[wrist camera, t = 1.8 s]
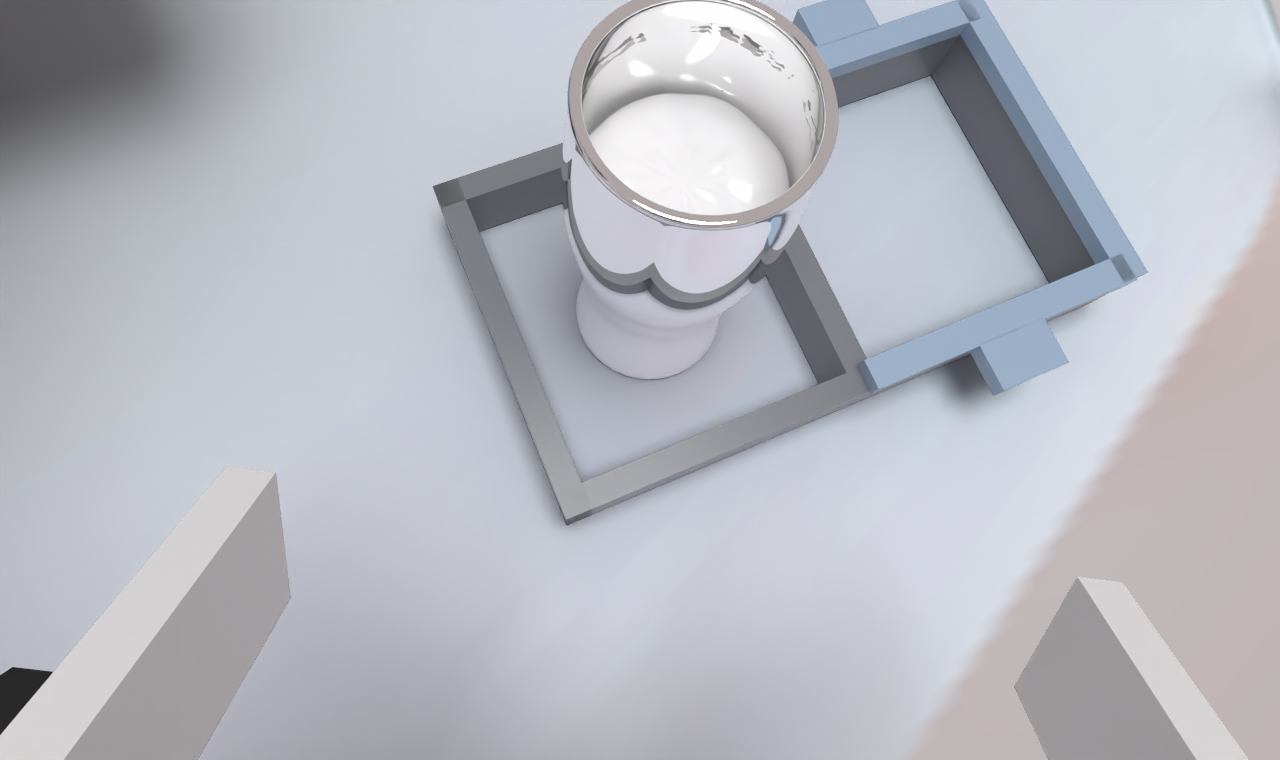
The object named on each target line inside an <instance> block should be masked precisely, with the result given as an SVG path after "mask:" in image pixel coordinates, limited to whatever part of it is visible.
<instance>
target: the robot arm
mask: <svg viewBox="0 0 1280 760" xmlns="http://www.w3.org/2000/svg"><path fill="white" fill-rule="evenodd" d="M290 598H291V596H290V588H289V579H288V571H287V562H286V554H285V545H284V537H283V529H282V520H281V512H280V503H279V495H278V486H277V478H276V472H268V471H261V470H253V469H245V468H238V467H230V466H226V468H225V469H224V470H223V471H222V472H221V474H220V475H219V476H218V477H217V478H216V479H215V481H214V482H213V483H212V484H211V485H210V487H209V488H208V489H207V490H206V491H205V493H204V494H203V495H202V496H201V497H200V498H199V500H198V501H197V502H196V503H195V504H194V506H193V507H192V508H191V509H190V510H189V512H188V513H187V514H186V515H185V516H184V517H183V519H182V520H181V521H180V522H179V523H178V525H177V526H176V527H175V528H174V529H173V531H172V532H171V533H170V534H169V535H168V536H167V538H166V539H165V540H164V541H163V542H162V544H161V545H160V546H159V547H158V548H157V550H156V551H155V552H154V553H153V554H152V555H151V557H150V558H149V559H148V560H147V561H146V563H145V564H144V565H143V566H142V567H141V569H140V570H139V571H138V572H137V573H136V575H135V576H134V577H133V578H132V579H131V580H130V582H129V583H128V584H127V585H126V586H125V588H124V589H123V590H122V591H121V592H120V594H119V595H118V596H117V597H116V598H115V599H114V601H113V602H112V603H111V604H110V605H109V607H108V608H107V609H106V610H105V611H104V613H103V614H102V615H101V616H100V617H99V618H98V620H97V621H96V622H95V623H94V624H93V626H92V627H91V628H90V629H89V630H88V632H87V633H86V634H85V635H84V636H83V637H82V639H81V640H80V641H79V642H78V643H77V645H76V646H75V647H74V648H73V649H72V651H71V652H70V653H69V654H68V655H67V656H66V658H65V659H64V660H63V661H62V662H61V664H60V665H59V666H58V667H57V668H56V670H55V671H54V672H50V671H41V670H33V669H24V668H15V667H12V668H11V669H9V670H8V671H6V672H5V673H3V674H2V675H0V760H198V758H199V757H200V755H201V753H202V751H203V750H204V748H205V746H206V744H207V743H208V741H209V739H210V737H211V736H212V734H213V732H214V730H215V729H216V727H217V725H218V723H219V722H220V720H221V718H222V716H223V715H224V713H225V711H226V710H227V708H228V706H229V704H230V703H231V701H232V699H233V697H234V696H235V694H236V692H237V690H238V689H239V687H240V685H241V683H242V682H243V680H244V678H245V676H246V675H247V673H248V671H249V669H250V668H251V666H252V664H253V663H254V661H255V659H256V657H257V656H258V654H259V652H260V650H261V649H262V647H263V645H264V643H265V642H266V640H267V638H268V636H269V635H270V633H271V631H272V629H273V628H274V626H275V624H276V622H277V621H278V619H279V617H280V616H281V614H282V612H283V610H284V609H285V607H286V605H287V603H288V602H289V600H290ZM1014 688H1015V690H1016V692H1017V694H1018V696H1019V698H1020V700H1021V703H1022V705H1023V707H1024V709H1025V711H1026V713H1027V716H1028V718H1029V720H1030V722H1031V724H1032V726H1033V728H1034V731H1035V733H1036V735H1037V737H1038V739H1039V741H1040V743H1041V746H1042V748H1043V750H1044V752H1045V754H1046V756H1047V758H1048V760H1248V758H1247V757H1246V756H1245V754H1244V753H1243V751H1242V750H1241V749H1240V747H1239V746H1238V744H1237V743H1236V741H1235V740H1234V739H1233V737H1232V736H1231V735H1230V733H1229V732H1228V730H1227V729H1226V727H1225V726H1224V725H1223V723H1222V722H1221V720H1220V719H1219V718H1218V716H1217V715H1216V713H1215V712H1214V711H1213V710H1212V708H1211V706H1210V705H1209V704H1208V702H1207V701H1206V700H1205V698H1204V697H1203V695H1202V694H1201V692H1200V691H1199V690H1198V688H1197V687H1196V686H1195V684H1194V683H1193V681H1192V680H1191V679H1190V677H1189V676H1188V674H1187V673H1186V671H1185V670H1184V669H1183V667H1182V666H1181V664H1180V663H1179V662H1178V660H1177V659H1176V657H1175V656H1174V655H1173V653H1172V652H1171V650H1170V649H1169V648H1168V646H1167V645H1166V643H1165V642H1164V641H1163V639H1162V638H1161V636H1160V635H1159V634H1158V632H1157V631H1156V629H1155V628H1154V627H1153V625H1152V624H1151V622H1150V621H1149V620H1148V618H1147V617H1146V615H1145V614H1144V612H1143V611H1142V610H1141V608H1140V607H1139V605H1138V604H1137V603H1136V601H1135V600H1134V599H1133V597H1132V596H1131V594H1130V593H1129V592H1128V590H1127V589H1126V587H1125V586H1124V585H1123V583H1122V582H1115V581H1108V580H1100V579H1092V578H1084V577H1077V578H1076V580H1075V582H1074V584H1073V585H1072V587H1071V589H1070V590H1069V592H1068V594H1067V596H1066V597H1065V599H1064V601H1063V603H1062V605H1061V606H1060V608H1059V610H1058V611H1057V613H1056V615H1055V617H1054V618H1053V620H1052V622H1051V623H1050V625H1049V627H1048V629H1047V630H1046V632H1045V634H1044V636H1043V637H1042V639H1041V641H1040V643H1039V645H1038V646H1037V648H1036V649H1035V651H1034V653H1033V655H1032V656H1031V658H1030V660H1029V662H1028V664H1027V665H1026V667H1025V669H1024V670H1023V672H1022V674H1021V676H1020V677H1019V679H1018V681H1017V683H1016V684H1015V686H1014Z"/></svg>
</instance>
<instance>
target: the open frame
mask: <svg viewBox="0 0 1280 760" xmlns="http://www.w3.org/2000/svg"><path fill="white" fill-rule="evenodd" d="M793 24H794V25H795V26H796V27H797V28H799V29H800V30H801V31H802V32H803V33H804V34H805V36H806V37H807V38H808V39H809V40H810V42H811V43H812V44H813V45H814V47H815V48H816V49H817V51H818V52H819V54H820V56H821V57H822V59H823V61H824V63H825V64H826V67H827V69H828V71H829V73H830V75H831V78H832V81H833V84H834V88H835V92H836V96H837V103H838V107H841V106H843V105H846V104H849V103H852V102H855V101H858V100H861V99H864V98H866V97H869V96H872V95H875V94H878V93H881V92H884V91H887V90H890V89H892V88H895V87H898V86H901V85H904V84H907V83H910V82H913V81H916V80H918V79H921V78H924V77H927V76H930V75H931V76H932V78H933V79H934V81H935V83H936V85H937V86H938V88H939V90H940V92H941V93H942V95H943V97H944V99H945V100H946V102H947V104H948V106H949V107H950V109H951V111H952V113H953V114H954V116H955V118H956V120H957V121H958V123H959V125H960V127H961V128H962V130H963V132H964V134H965V135H966V137H967V139H968V141H969V142H970V144H971V146H972V148H973V149H974V151H975V153H976V155H977V156H978V158H979V160H980V162H981V163H982V165H983V167H984V169H985V170H986V172H987V174H988V176H989V177H990V179H991V181H992V183H993V184H994V186H995V188H996V190H997V191H998V193H999V195H1000V197H1001V198H1002V200H1003V202H1004V204H1005V205H1006V207H1007V209H1008V211H1009V212H1010V214H1011V216H1012V218H1013V219H1014V221H1015V223H1016V225H1017V226H1018V228H1019V230H1020V232H1021V233H1022V235H1023V237H1024V239H1025V240H1026V242H1027V244H1028V246H1029V247H1030V249H1031V251H1032V253H1033V254H1034V256H1035V258H1036V260H1037V261H1038V263H1039V265H1040V267H1041V268H1042V270H1043V272H1044V274H1045V275H1046V277H1047V279H1048V281H1049V282H1050V283H1049V284H1047V285H1045V286H1042V287H1040V288H1037V289H1035V290H1033V291H1030V292H1028V293H1025V294H1023V295H1020V296H1018V297H1016V298H1013V299H1011V300H1008V301H1006V302H1004V303H1001V304H999V305H996V306H994V307H991V308H989V309H987V310H984V311H982V312H979V313H977V314H975V315H972V316H970V317H967V318H965V319H962V320H960V321H958V322H955V323H953V324H950V325H948V326H946V327H943V328H941V329H938V330H936V331H934V332H931V333H929V334H926V335H924V336H921V337H919V338H917V339H914V340H912V341H909V342H907V343H905V344H902V345H900V346H897V347H895V348H892V349H890V350H888V351H885V352H883V353H880V354H878V355H876V356H873V357H871V358H868V359H867V358H866V356H865V354H864V352H863V350H862V348H861V346H860V344H859V342H858V340H857V338H856V336H855V335H854V333H853V331H852V329H851V327H850V325H849V323H848V321H847V319H846V317H845V315H844V313H843V311H842V309H841V307H840V305H839V303H838V301H837V299H836V297H835V295H834V293H833V291H832V289H831V287H830V285H829V283H828V281H827V279H826V277H825V275H824V273H823V271H822V269H821V267H820V265H819V263H818V261H817V259H816V257H815V255H814V253H813V251H812V249H811V248H810V246H809V244H808V242H807V240H806V238H805V236H804V234H803V232H802V230H801V228H800V226H799V224H798V226H797V228H796V230H795V231H794V233H793V235H792V237H791V239H790V240H789V242H788V244H787V246H786V247H785V249H784V250H783V252H782V253H781V255H780V256H779V257H778V259H777V260H776V262H775V263H774V264H773V266H772V267H771V268H770V270H769V271H768V273H767V274H766V276H767V279H768V281H769V283H770V285H771V287H772V289H773V291H774V293H775V295H776V297H777V299H778V301H779V303H780V305H781V307H782V309H783V311H784V313H785V315H786V317H787V319H788V322H789V324H790V326H791V328H792V330H793V332H794V334H795V336H796V338H797V340H798V342H799V344H800V346H801V348H802V350H803V352H804V354H805V356H806V358H807V360H808V362H809V365H810V367H811V369H812V371H813V373H814V375H815V377H816V379H817V381H818V383H819V385H816V386H814V387H811V388H809V389H806V390H804V391H802V392H799V393H797V394H794V395H792V396H790V397H787V398H785V399H782V400H780V401H778V402H775V403H773V404H770V405H768V406H766V407H763V408H761V409H758V410H756V411H754V412H751V413H749V414H746V415H744V416H742V417H739V418H737V419H734V420H732V421H729V422H727V423H725V424H722V425H720V426H717V427H715V428H713V429H710V430H708V431H705V432H703V433H701V434H698V435H696V436H693V437H691V438H689V439H686V440H684V441H681V442H679V443H677V444H674V445H672V446H669V447H667V448H664V449H662V450H660V451H657V452H655V453H652V454H650V455H648V456H645V457H643V458H640V459H638V460H636V461H633V462H631V463H628V464H626V465H624V466H621V467H619V468H616V469H614V470H612V471H609V472H607V473H604V474H602V475H599V476H597V477H595V478H592V479H590V480H587V481H585V482H583V483H581V480H580V478H579V475H578V473H577V471H576V468H575V466H574V463H573V461H572V458H571V456H570V453H569V451H568V449H567V446H566V444H565V441H564V439H563V436H562V434H561V431H560V429H559V426H558V424H557V422H556V419H555V417H554V414H553V412H552V409H551V407H550V404H549V402H548V400H547V397H546V395H545V392H544V390H543V387H542V385H541V382H540V380H539V378H538V375H537V373H536V370H535V368H534V365H533V363H532V360H531V358H530V356H529V353H528V351H527V348H526V346H525V343H524V341H523V338H522V336H521V333H520V331H519V329H518V326H517V324H516V321H515V319H514V316H513V314H512V311H511V309H510V307H509V304H508V302H507V299H506V297H505V294H504V292H503V289H502V287H501V285H500V282H499V280H498V277H497V275H496V272H495V270H494V267H493V265H492V263H491V260H490V258H489V255H488V253H487V250H486V248H485V245H484V243H483V240H482V238H481V236H480V233H479V232H480V231H483V230H486V229H488V228H491V227H494V226H497V225H500V224H503V223H506V222H509V221H512V220H514V219H517V218H520V217H523V216H526V215H529V214H532V213H535V212H537V211H540V210H543V209H546V208H549V207H552V206H555V205H558V204H561V203H562V193H561V167H562V148H563V143H561V144H558V145H555V146H552V147H549V148H546V149H543V150H540V151H537V152H534V153H531V154H528V155H525V156H522V157H519V158H516V159H513V160H510V161H507V162H504V163H501V164H498V165H495V166H492V167H489V168H486V169H483V170H480V171H477V172H474V173H471V174H468V175H465V176H462V177H459V178H456V179H453V180H450V181H447V182H444V183H441V184H438V185H435V186H433V189H434V191H435V194H436V197H437V200H438V202H439V205H440V208H441V211H442V213H443V216H444V219H445V222H446V224H447V227H448V229H449V232H450V234H451V237H452V239H453V242H454V244H455V247H456V249H457V252H458V254H459V257H460V259H461V262H462V264H463V267H464V269H465V272H466V274H467V277H468V279H469V282H470V284H471V287H472V289H473V292H474V294H475V297H476V299H477V302H478V304H479V307H480V309H481V312H482V314H483V317H484V319H485V322H486V324H487V327H488V329H489V332H490V334H491V337H492V339H493V342H494V344H495V347H496V349H497V352H498V354H499V357H500V359H501V362H502V364H503V367H504V369H505V372H506V374H507V377H508V379H509V382H510V384H511V387H512V389H513V392H514V394H515V397H516V399H517V402H518V404H519V407H520V409H521V412H522V414H523V417H524V419H525V422H526V424H527V427H528V429H529V432H530V434H531V437H532V439H533V442H534V444H535V447H536V449H537V452H538V454H539V457H540V459H541V462H542V464H543V467H544V469H545V472H546V474H547V477H548V479H549V482H550V484H551V487H552V489H553V492H554V494H555V497H556V499H557V502H558V504H559V507H560V509H561V512H562V514H563V517H564V519H565V522H566V524H567V525H569V524H571V523H574V522H576V521H578V520H581V519H583V518H585V517H588V516H590V515H592V514H595V513H597V512H599V511H602V510H604V509H607V508H609V507H611V506H614V505H616V504H618V503H621V502H623V501H625V500H628V499H630V498H632V497H635V496H637V495H640V494H642V493H644V492H647V491H649V490H651V489H654V488H656V487H658V486H661V485H663V484H665V483H668V482H670V481H673V480H675V479H677V478H680V477H682V476H684V475H687V474H689V473H691V472H694V471H696V470H698V469H701V468H703V467H706V466H708V465H710V464H713V463H715V462H717V461H720V460H722V459H724V458H727V457H729V456H731V455H734V454H736V453H739V452H741V451H743V450H746V449H748V448H750V447H753V446H755V445H757V444H760V443H762V442H765V441H767V440H769V439H772V438H774V437H776V436H779V435H781V434H783V433H786V432H788V431H790V430H793V429H795V428H798V427H800V426H802V425H805V424H807V423H809V422H812V421H814V420H816V419H819V418H821V417H823V416H826V415H828V414H831V413H833V412H835V411H838V410H840V409H842V408H845V407H847V406H849V405H852V404H854V403H856V402H859V401H861V400H864V399H866V398H868V397H871V396H873V395H875V394H878V393H880V392H882V391H885V390H887V389H889V388H892V387H894V386H897V385H899V384H901V383H904V382H906V381H908V380H911V379H913V378H915V377H918V376H920V375H922V374H925V373H927V372H930V371H932V370H934V369H937V368H939V367H941V366H944V365H946V364H948V363H951V362H953V361H955V360H958V359H960V358H963V357H965V356H967V355H970V354H971V355H972V357H973V359H974V361H975V363H976V365H977V367H978V368H979V370H980V372H981V374H982V376H983V378H984V380H985V382H986V383H987V385H988V387H989V389H990V391H991V393H992V395H995V394H998V393H1000V392H1002V391H1004V390H1007V389H1009V388H1011V387H1014V386H1016V385H1018V384H1020V383H1023V382H1025V381H1027V380H1030V379H1032V378H1034V377H1036V376H1039V375H1041V374H1043V373H1046V372H1048V371H1050V370H1052V369H1055V368H1057V367H1059V366H1062V365H1064V364H1066V363H1068V362H1069V361H1068V359H1067V358H1066V356H1065V354H1064V352H1063V351H1062V349H1061V347H1060V345H1059V343H1058V342H1057V340H1056V338H1055V336H1054V335H1053V333H1052V331H1051V329H1050V327H1049V326H1048V324H1047V321H1050V320H1052V319H1055V318H1057V317H1059V316H1062V315H1064V314H1066V313H1069V312H1071V311H1073V310H1076V309H1078V308H1080V307H1083V306H1085V305H1087V304H1089V303H1091V302H1093V301H1095V300H1096V299H1098V298H1100V297H1102V296H1104V295H1106V294H1108V293H1110V292H1112V291H1115V290H1117V289H1119V288H1122V287H1124V286H1126V285H1128V284H1130V283H1132V282H1133V281H1135V280H1137V278H1138V277H1140V276H1142V275H1144V274H1146V273H1147V272H1148V271H1147V270H1146V268H1145V266H1144V265H1143V263H1142V261H1141V260H1140V258H1139V256H1138V255H1137V253H1136V251H1135V250H1134V248H1133V246H1132V245H1131V243H1130V241H1129V240H1128V238H1127V236H1126V235H1125V233H1124V231H1123V230H1122V228H1121V226H1120V225H1119V223H1118V222H1117V220H1116V218H1115V217H1114V215H1113V213H1112V212H1111V210H1110V208H1109V207H1108V205H1107V203H1106V202H1105V200H1104V198H1103V197H1102V195H1101V193H1100V192H1099V190H1098V188H1097V187H1096V185H1095V183H1094V182H1093V180H1092V178H1091V177H1090V175H1089V173H1088V172H1087V170H1086V168H1085V167H1084V165H1083V163H1082V162H1081V160H1080V158H1079V157H1078V155H1077V153H1076V152H1075V150H1074V148H1073V147H1072V145H1071V143H1070V142H1069V140H1068V138H1067V137H1066V135H1065V134H1064V132H1063V130H1062V129H1061V127H1060V125H1059V124H1058V122H1057V120H1056V119H1055V117H1054V115H1053V114H1052V112H1051V110H1050V109H1049V107H1048V105H1047V104H1046V102H1045V100H1044V99H1043V97H1042V95H1041V94H1040V92H1039V90H1038V89H1037V87H1036V85H1035V84H1034V82H1033V80H1032V79H1031V77H1030V75H1029V74H1028V72H1027V70H1026V69H1025V67H1024V65H1023V64H1022V62H1021V60H1020V59H1019V57H1018V55H1017V54H1016V52H1015V50H1014V49H1013V47H1012V46H1011V44H1010V42H1009V41H1008V39H1007V37H1006V36H1005V34H1004V32H1003V31H1002V29H1001V27H1000V26H999V24H998V22H997V21H996V19H995V17H994V16H993V14H992V12H991V11H990V9H989V7H988V6H987V4H986V2H985V1H984V0H955V1H952V2H949V3H946V4H943V5H940V6H937V7H933V8H930V9H927V10H924V11H921V12H918V13H915V14H912V15H909V16H906V17H903V18H900V19H897V20H894V21H891V22H888V23H885V24H882V25H879V24H878V22H877V21H876V19H875V17H874V15H873V14H872V12H871V10H870V8H869V6H868V5H867V3H866V1H865V0H826V1H823V2H820V3H816V4H813V5H810V6H807V7H804V8H801V9H798V11H797V13H796V16H795V18H794V21H793Z"/></svg>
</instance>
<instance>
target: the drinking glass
mask: <svg viewBox="0 0 1280 760" xmlns="http://www.w3.org/2000/svg"><path fill="white" fill-rule="evenodd" d="M837 130H838V103H837V96H836V92H835V88H834V84H833V81H832V78H831V75H830V73H829V71H828V69H827V67H826V64H825V63H824V61H823V59H822V57H821V56H820V54H819V52H818V51H817V49H816V48H815V47H814V45H813V44H812V43H811V42H810V40H809V39H808V38H807V37H806V36H805V34H804V33H803V32H802V31H801V30H800V29H799V28H797V27H796V26H795V25H794V24H793V23H792V22H791V21H789V20H788V19H787V18H786V17H784V16H783V15H781V14H780V13H778V12H777V11H775V10H774V9H772V8H770V7H769V6H767V5H765V4H763V3H761V2H759V1H757V0H631V1H629V2H627V3H626V4H624V5H622V6H620V7H619V8H617V9H616V10H614V11H613V12H612V13H610V14H609V15H608V16H607V17H605V18H604V19H603V20H602V21H601V22H600V23H599V24H598V25H597V26H596V27H595V28H594V29H593V30H592V32H591V33H590V34H589V35H588V37H587V38H586V40H585V41H584V43H583V44H582V46H581V48H580V50H579V52H578V54H577V56H576V58H575V61H574V63H573V66H572V69H571V73H570V77H569V82H568V91H567V115H566V122H565V130H564V139H563V148H562V167H561V193H562V203H563V213H564V221H565V226H566V230H567V234H568V237H569V240H570V244H571V247H572V250H573V253H574V256H575V259H576V261H577V263H578V266H579V268H580V270H581V272H582V275H583V277H584V278H583V280H582V283H581V285H580V288H579V291H578V295H577V302H576V316H577V323H578V327H579V330H580V333H581V335H582V337H583V340H584V341H585V343H586V345H587V346H588V348H589V349H590V351H591V352H592V353H593V354H594V355H595V356H596V357H597V358H598V359H599V360H600V361H601V362H602V363H603V364H605V365H606V366H607V367H609V368H611V369H612V370H614V371H616V372H618V373H620V374H623V375H626V376H629V377H633V378H638V379H661V378H666V377H670V376H673V375H676V374H678V373H680V372H683V371H685V370H686V369H688V368H690V367H691V366H692V365H694V364H695V363H696V362H697V361H699V360H700V359H701V358H702V356H703V355H704V354H705V353H706V352H707V350H708V349H709V347H710V345H711V344H712V342H713V339H714V337H715V335H716V332H717V329H718V324H719V317H720V314H722V313H723V312H724V311H726V310H727V309H729V308H730V307H731V306H733V305H734V304H735V303H737V302H738V301H739V300H740V299H742V298H743V297H744V296H745V295H746V294H747V293H748V292H749V291H750V290H751V289H752V288H754V287H755V286H756V285H757V284H758V283H759V282H760V281H761V280H762V279H763V278H764V276H765V275H766V274H767V273H768V271H769V270H770V268H771V267H772V266H773V264H774V263H775V262H776V260H777V259H778V257H779V256H780V255H781V253H782V252H783V250H784V249H785V247H786V246H787V244H788V242H789V240H790V239H791V237H792V235H793V233H794V231H795V230H796V228H797V226H798V224H799V222H800V220H801V218H802V216H803V214H804V212H805V209H806V207H807V205H808V203H809V201H810V198H811V196H812V194H813V191H814V189H815V187H816V184H817V182H818V179H819V177H820V176H821V174H822V173H823V171H824V169H825V167H826V165H827V163H828V161H829V159H830V157H831V154H832V152H833V148H834V145H835V141H836V136H837Z"/></svg>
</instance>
